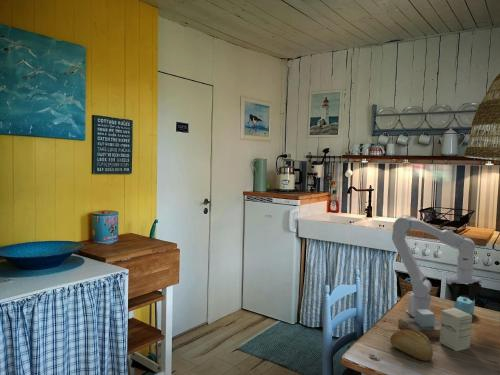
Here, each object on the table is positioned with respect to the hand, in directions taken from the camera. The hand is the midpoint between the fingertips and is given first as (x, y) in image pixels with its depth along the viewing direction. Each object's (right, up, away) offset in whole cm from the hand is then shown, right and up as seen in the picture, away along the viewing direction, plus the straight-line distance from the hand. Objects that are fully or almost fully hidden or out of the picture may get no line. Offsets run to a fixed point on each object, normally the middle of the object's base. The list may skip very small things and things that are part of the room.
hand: (462, 300), depth 161 cm
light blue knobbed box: (+6, -10, +12) cm, 17 cm away
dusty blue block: (-18, -8, -6) cm, 21 cm away
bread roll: (-31, -12, -23) cm, 40 cm away
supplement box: (-12, -12, -17) cm, 24 cm away
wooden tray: (-19, -11, -6) cm, 22 cm away
